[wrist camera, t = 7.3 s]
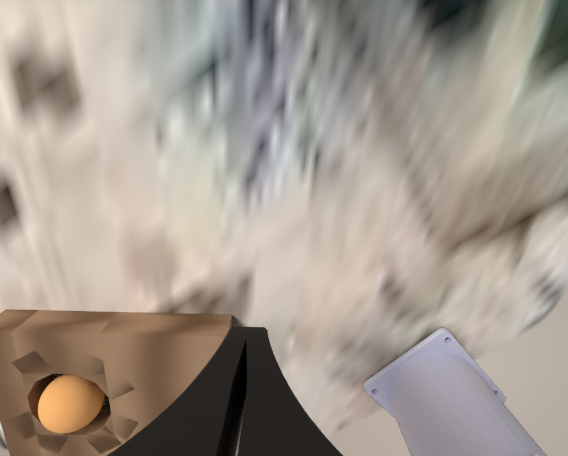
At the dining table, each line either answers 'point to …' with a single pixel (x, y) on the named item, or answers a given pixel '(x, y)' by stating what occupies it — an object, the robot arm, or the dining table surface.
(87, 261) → the dining table surface
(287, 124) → the dining table surface
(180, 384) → the board
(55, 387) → the ball
